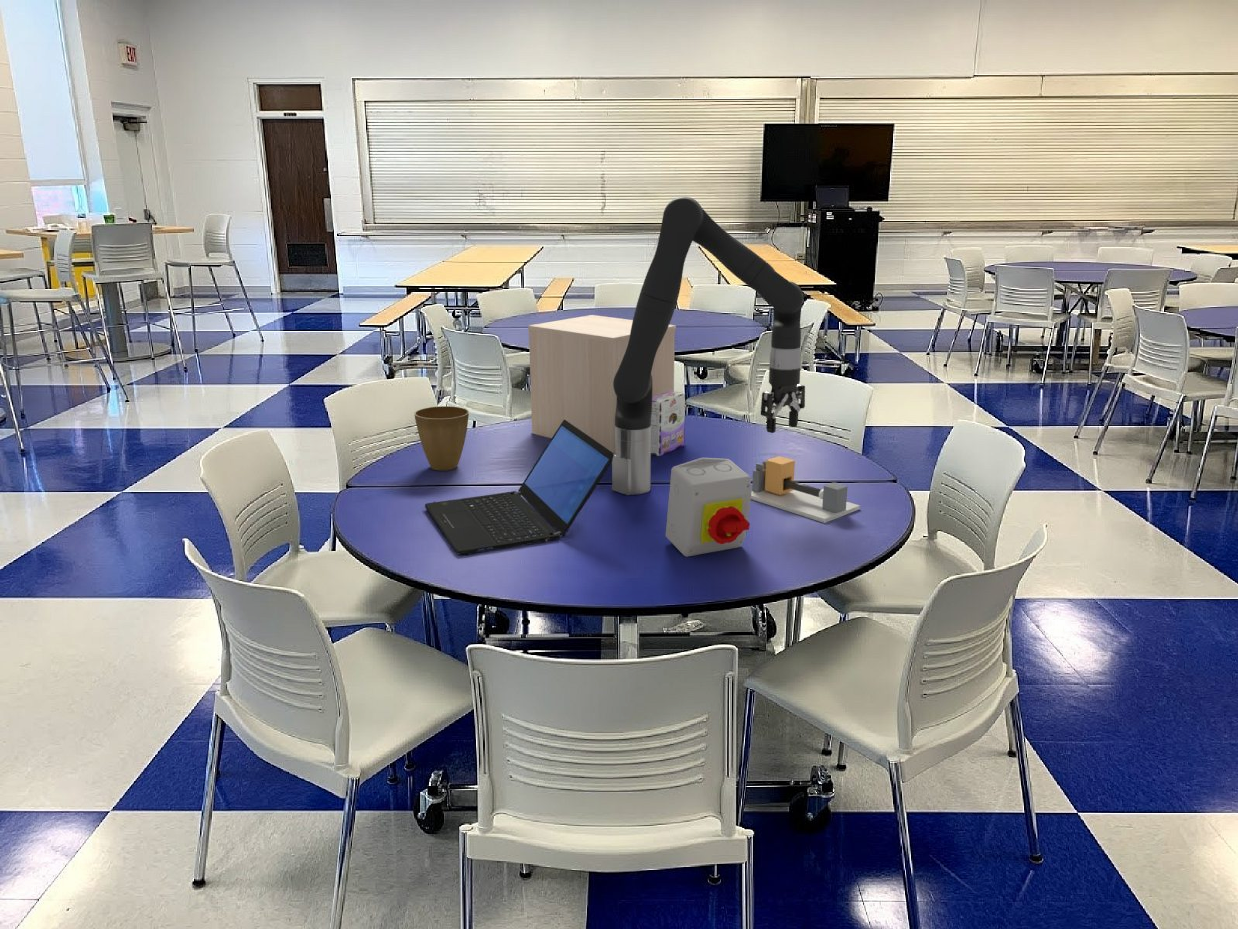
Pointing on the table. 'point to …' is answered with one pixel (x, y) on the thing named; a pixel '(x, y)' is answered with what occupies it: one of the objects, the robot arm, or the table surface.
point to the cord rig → (804, 498)
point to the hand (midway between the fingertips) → (782, 429)
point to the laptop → (529, 498)
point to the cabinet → (586, 373)
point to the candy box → (667, 422)
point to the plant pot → (442, 435)
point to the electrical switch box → (708, 506)
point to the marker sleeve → (778, 474)
